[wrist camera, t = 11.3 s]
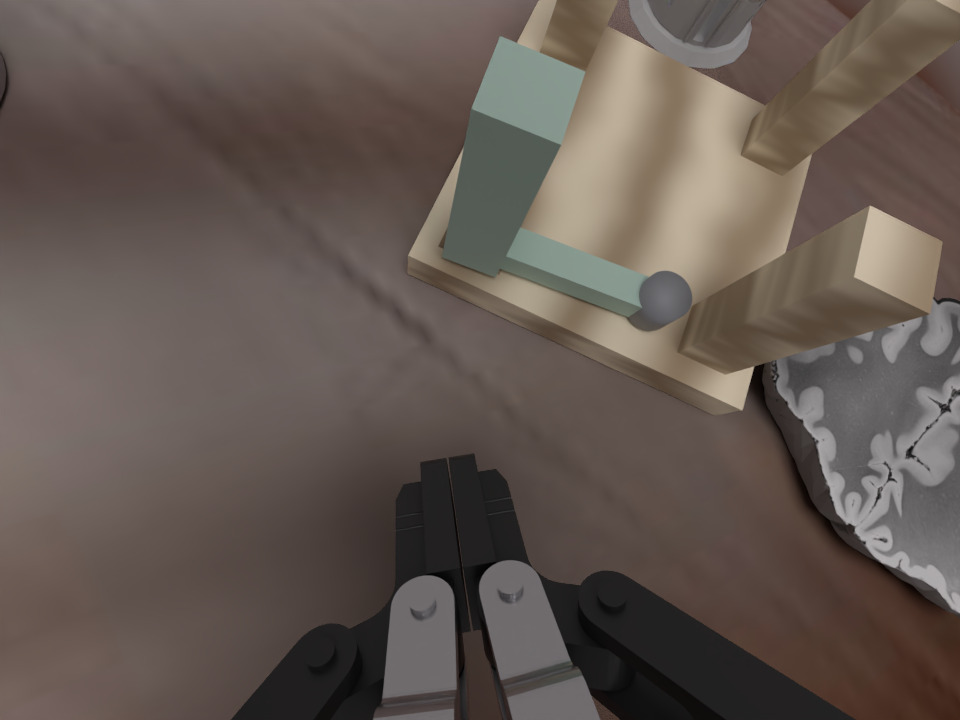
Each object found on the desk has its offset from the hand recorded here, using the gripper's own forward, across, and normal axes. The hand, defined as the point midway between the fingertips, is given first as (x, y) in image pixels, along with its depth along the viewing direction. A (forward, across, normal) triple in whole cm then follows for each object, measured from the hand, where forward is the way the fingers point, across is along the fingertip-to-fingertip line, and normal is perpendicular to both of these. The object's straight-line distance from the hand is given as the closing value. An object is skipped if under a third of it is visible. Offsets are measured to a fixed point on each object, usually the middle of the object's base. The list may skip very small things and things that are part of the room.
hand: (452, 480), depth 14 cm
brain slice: (+11, +27, -12) cm, 32 cm away
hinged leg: (+14, +7, 0) cm, 16 cm away
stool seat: (+20, +13, +1) cm, 24 cm away
